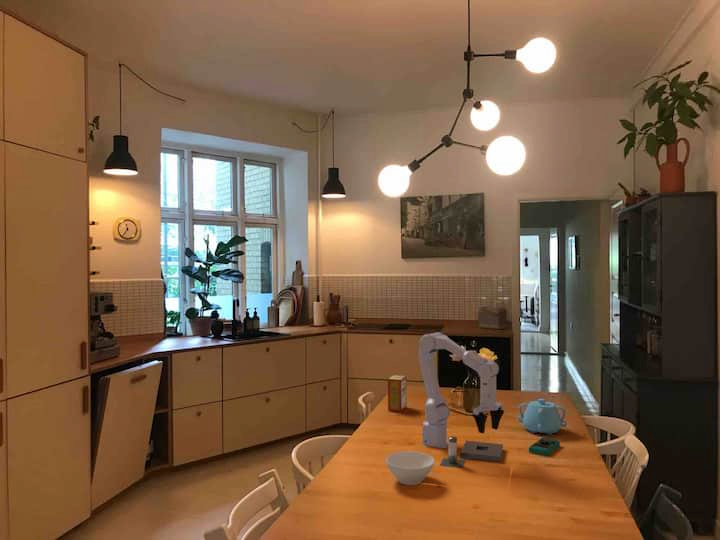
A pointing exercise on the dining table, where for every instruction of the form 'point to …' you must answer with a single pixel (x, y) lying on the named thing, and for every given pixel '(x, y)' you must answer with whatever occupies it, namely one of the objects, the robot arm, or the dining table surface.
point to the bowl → (410, 466)
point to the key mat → (445, 463)
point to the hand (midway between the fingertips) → (488, 430)
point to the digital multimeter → (544, 446)
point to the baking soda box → (396, 393)
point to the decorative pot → (542, 417)
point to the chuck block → (482, 451)
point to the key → (452, 450)
